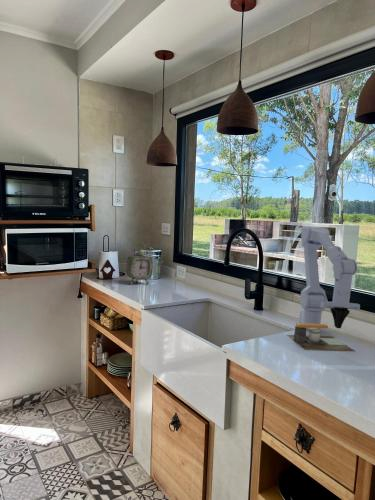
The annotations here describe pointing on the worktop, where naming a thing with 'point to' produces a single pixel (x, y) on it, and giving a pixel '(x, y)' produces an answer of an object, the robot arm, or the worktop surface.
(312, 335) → the plug
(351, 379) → the worktop surface
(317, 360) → the worktop surface
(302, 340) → the board
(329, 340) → the sage mat
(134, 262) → the tabletop clock
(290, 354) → the worktop surface
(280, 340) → the worktop surface
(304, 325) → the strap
